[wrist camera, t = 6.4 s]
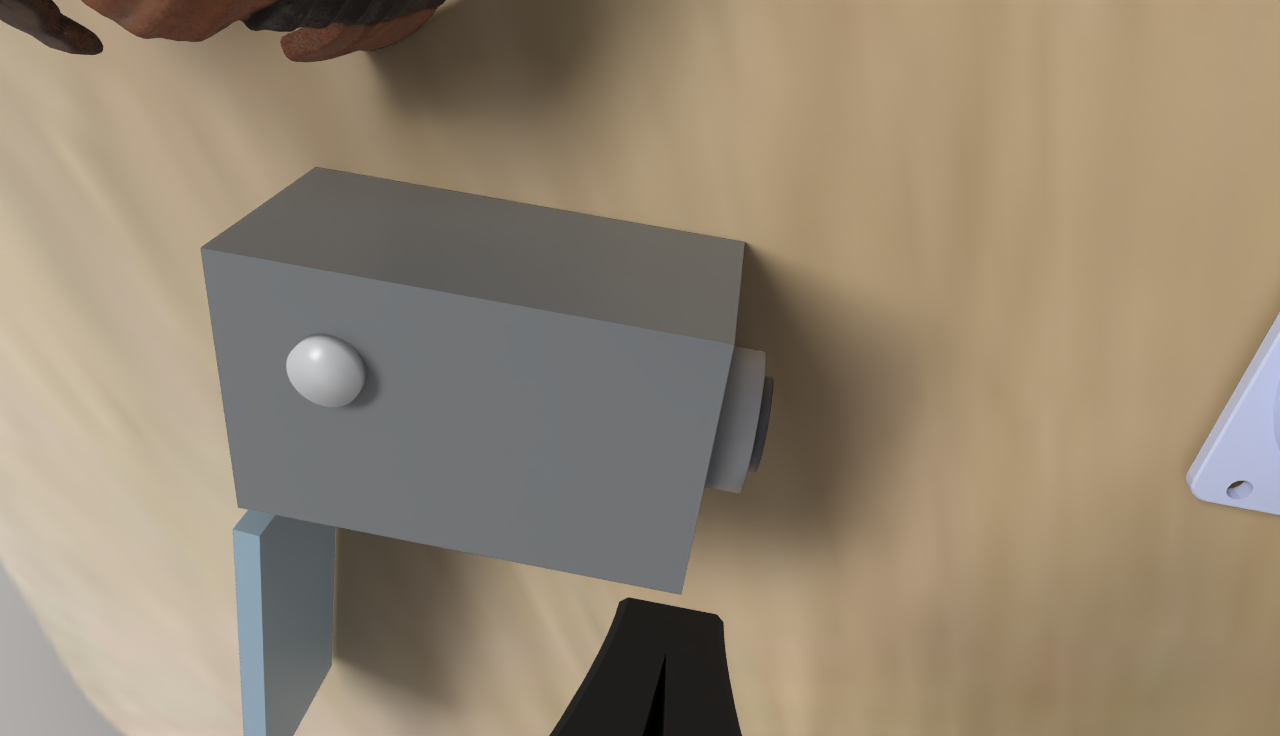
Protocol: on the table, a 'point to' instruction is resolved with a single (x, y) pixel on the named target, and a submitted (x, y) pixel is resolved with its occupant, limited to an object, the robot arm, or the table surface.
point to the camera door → (282, 617)
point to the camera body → (483, 374)
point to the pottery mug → (207, 3)
